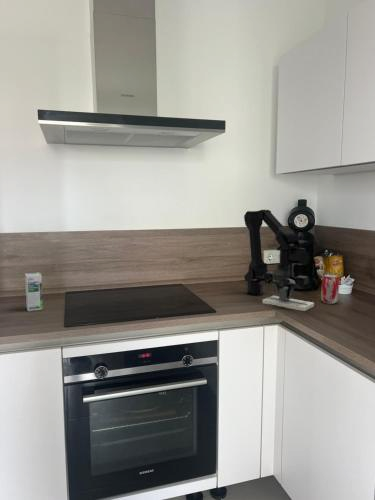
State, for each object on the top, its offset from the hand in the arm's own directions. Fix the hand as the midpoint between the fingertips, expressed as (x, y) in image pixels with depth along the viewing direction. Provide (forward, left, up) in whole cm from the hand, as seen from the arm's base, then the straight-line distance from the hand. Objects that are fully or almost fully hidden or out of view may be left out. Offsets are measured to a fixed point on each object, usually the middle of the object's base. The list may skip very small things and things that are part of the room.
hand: (284, 297), depth 167 cm
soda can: (+14, +16, -3) cm, 21 cm away
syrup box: (-72, -75, -3) cm, 104 cm away
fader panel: (+2, 0, -3) cm, 3 cm away
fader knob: (0, 0, -1) cm, 1 cm away
